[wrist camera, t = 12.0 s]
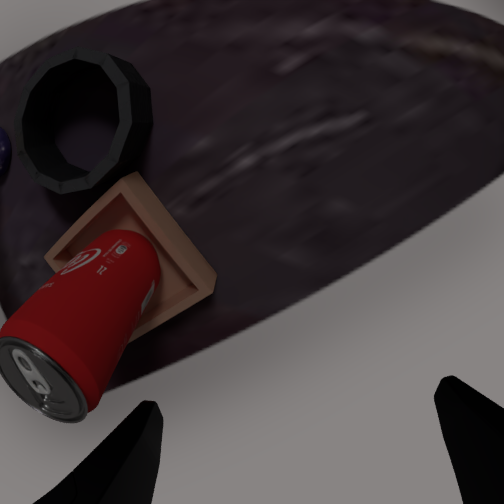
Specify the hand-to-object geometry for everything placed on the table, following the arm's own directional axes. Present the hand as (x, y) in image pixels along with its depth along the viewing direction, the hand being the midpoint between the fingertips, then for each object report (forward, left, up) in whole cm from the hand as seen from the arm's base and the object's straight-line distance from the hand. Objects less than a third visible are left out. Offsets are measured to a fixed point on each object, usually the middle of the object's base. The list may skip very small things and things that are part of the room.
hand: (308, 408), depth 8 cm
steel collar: (+5, -14, -13) cm, 20 cm away
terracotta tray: (+9, -5, -13) cm, 17 cm away
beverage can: (+9, -5, -13) cm, 16 cm away
